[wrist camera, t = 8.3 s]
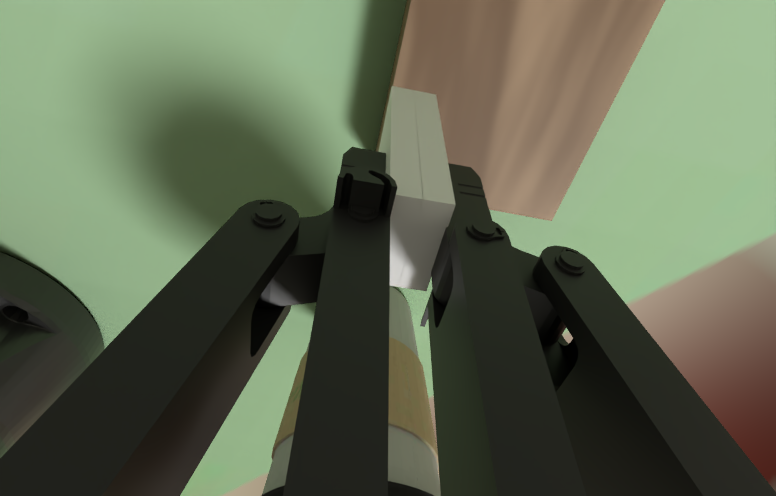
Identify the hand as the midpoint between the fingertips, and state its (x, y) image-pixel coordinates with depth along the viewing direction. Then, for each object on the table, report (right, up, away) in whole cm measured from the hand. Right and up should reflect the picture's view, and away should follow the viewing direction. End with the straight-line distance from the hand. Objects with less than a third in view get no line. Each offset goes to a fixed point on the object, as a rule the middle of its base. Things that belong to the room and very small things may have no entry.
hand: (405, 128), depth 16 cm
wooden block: (0, +3, +4) cm, 5 cm away
